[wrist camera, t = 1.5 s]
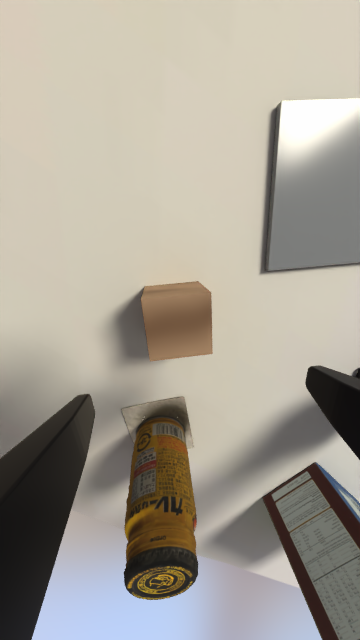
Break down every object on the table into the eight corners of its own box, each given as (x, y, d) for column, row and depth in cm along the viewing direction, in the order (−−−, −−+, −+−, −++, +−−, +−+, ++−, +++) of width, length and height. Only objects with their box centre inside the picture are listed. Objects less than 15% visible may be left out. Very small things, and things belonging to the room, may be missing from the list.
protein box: (307, 528, 37) (405, 712, 22) (260, 496, 32) (347, 705, 17) (357, 498, 35) (498, 676, 21) (315, 459, 30) (462, 657, 16)
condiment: (138, 457, 26) (125, 616, 15) (121, 407, 23) (87, 559, 12) (193, 445, 26) (220, 592, 15) (183, 394, 23) (208, 530, 12)
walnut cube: (200, 329, 21) (212, 353, 16) (151, 335, 20) (149, 361, 16) (198, 281, 19) (211, 292, 14) (144, 286, 19) (140, 299, 14)
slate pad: (380, 259, 20) (386, 260, 20) (265, 270, 19) (268, 270, 19) (422, 101, 16) (432, 96, 15) (277, 106, 15) (281, 100, 14)
